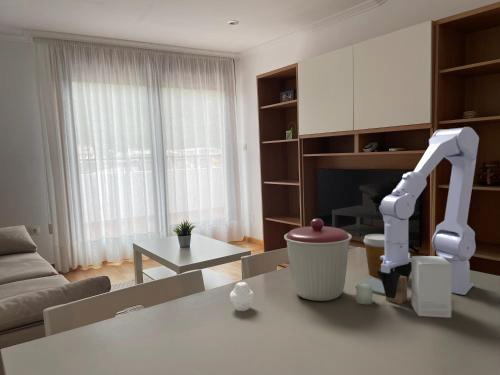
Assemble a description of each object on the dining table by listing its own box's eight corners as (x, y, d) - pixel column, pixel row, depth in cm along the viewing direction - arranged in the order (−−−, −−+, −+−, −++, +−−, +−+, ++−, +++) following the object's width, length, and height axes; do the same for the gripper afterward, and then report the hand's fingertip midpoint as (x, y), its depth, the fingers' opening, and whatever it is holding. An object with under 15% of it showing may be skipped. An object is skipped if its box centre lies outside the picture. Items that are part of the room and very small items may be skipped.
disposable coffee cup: (361, 269, 124) (361, 233, 123) (391, 269, 123) (391, 233, 122) (366, 279, 115) (365, 240, 114) (398, 279, 113) (398, 240, 112)
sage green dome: (360, 297, 101) (360, 282, 100) (375, 300, 98) (375, 285, 98) (353, 301, 98) (353, 286, 97) (368, 305, 95) (368, 290, 95)
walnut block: (391, 295, 101) (391, 273, 100) (407, 299, 98) (407, 276, 98) (385, 300, 98) (385, 277, 98) (401, 303, 95) (401, 280, 95)
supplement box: (452, 318, 86) (452, 264, 85) (417, 316, 88) (417, 263, 87) (442, 305, 93) (442, 255, 92) (410, 304, 95) (410, 255, 94)
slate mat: (369, 280, 114) (369, 278, 114) (399, 286, 108) (399, 284, 108) (355, 288, 107) (355, 286, 107) (386, 295, 101) (386, 293, 101)
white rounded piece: (259, 307, 96) (258, 281, 95) (242, 315, 91) (241, 287, 91) (242, 302, 100) (241, 276, 100) (225, 309, 96) (224, 282, 95)
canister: (277, 302, 99) (274, 223, 97) (295, 280, 115) (293, 212, 114) (347, 311, 92) (346, 226, 90) (356, 286, 109) (355, 214, 107)
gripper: (392, 234, 105) (392, 282, 106) (369, 245, 94) (369, 297, 95) (418, 238, 100) (418, 287, 101) (397, 249, 89) (397, 304, 91)
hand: (396, 293), depth 98 cm, fingers open, 7 cm apart
